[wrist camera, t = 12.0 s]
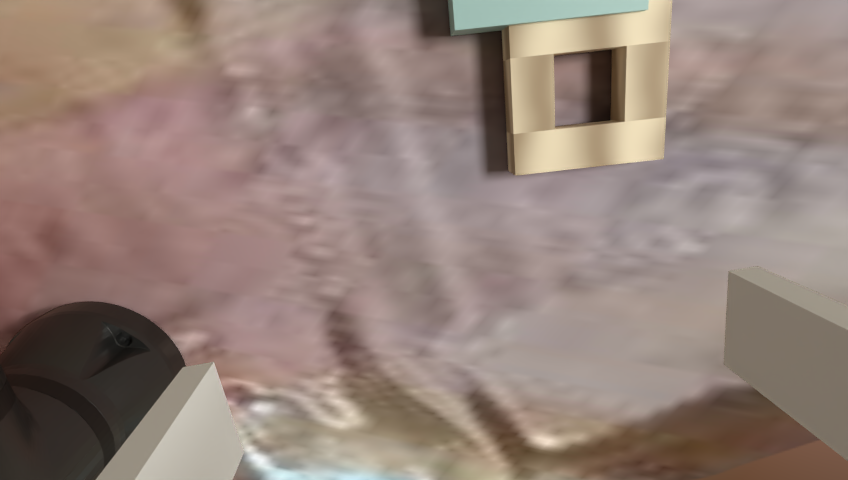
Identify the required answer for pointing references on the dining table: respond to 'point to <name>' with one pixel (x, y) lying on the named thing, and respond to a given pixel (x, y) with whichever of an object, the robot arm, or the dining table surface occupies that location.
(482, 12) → the dock
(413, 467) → the dining table surface
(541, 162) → the mount
